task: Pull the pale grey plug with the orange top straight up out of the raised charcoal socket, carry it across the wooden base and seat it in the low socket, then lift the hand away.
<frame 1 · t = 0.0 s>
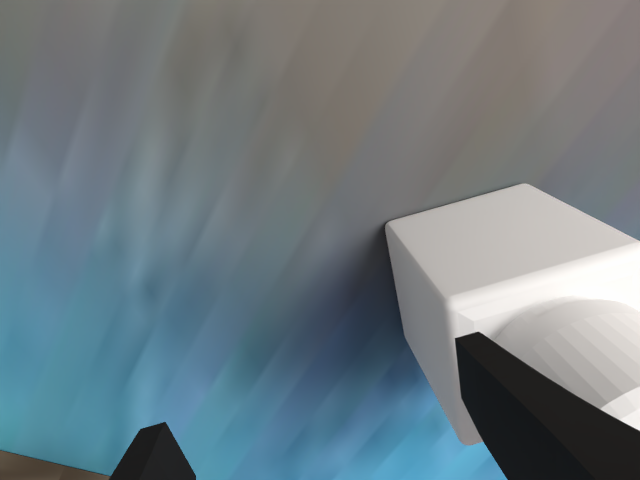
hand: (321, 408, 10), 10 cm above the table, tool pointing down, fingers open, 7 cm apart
medicine bottle: (459, 262, 22), on the table
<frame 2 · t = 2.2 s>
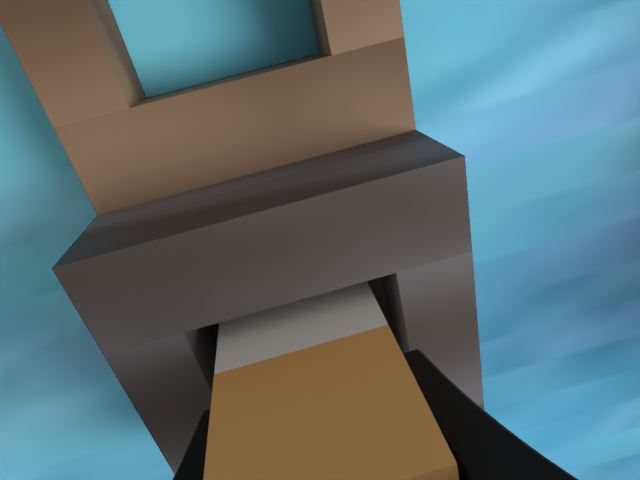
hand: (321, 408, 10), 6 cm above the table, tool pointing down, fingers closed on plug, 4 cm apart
wooden base: (257, 154, 14), on the table
plug: (306, 335, 13), point 3 cm above the table, touching gripper, wooden base
when the fingers open (4 cm above the table, at t = 6.2 s): plug stays where it is, resting in wooden base.
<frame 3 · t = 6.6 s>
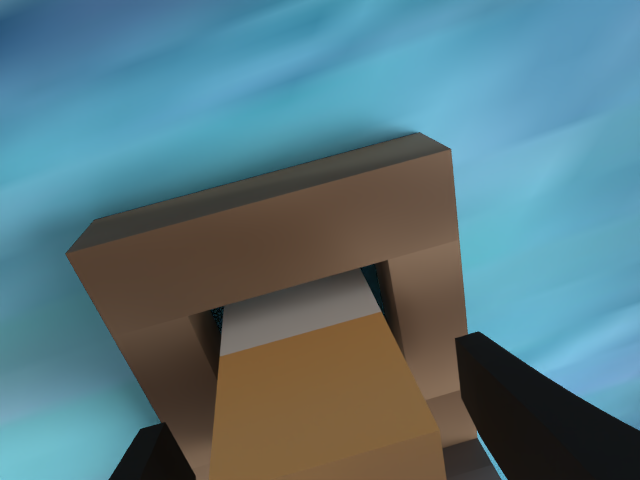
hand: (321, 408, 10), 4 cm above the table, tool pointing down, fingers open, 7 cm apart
wooden base: (336, 427, 16), on the table
plug: (305, 324, 14), resting in wooden base
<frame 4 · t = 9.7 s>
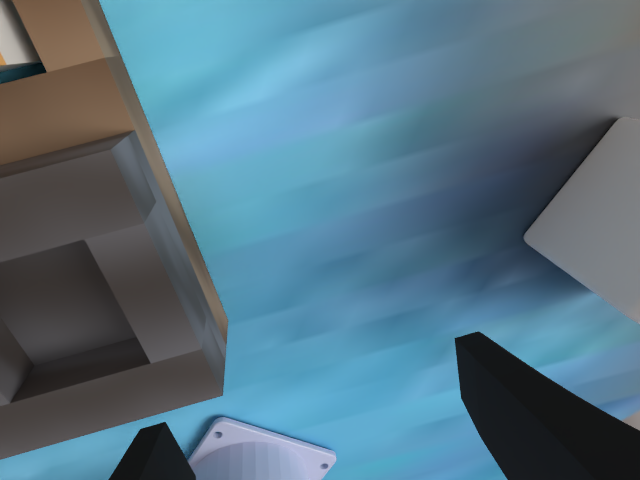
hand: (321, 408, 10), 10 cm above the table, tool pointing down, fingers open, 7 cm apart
wooden base: (33, 150, 17), on the table
medicine bottle: (607, 209, 22), on the table
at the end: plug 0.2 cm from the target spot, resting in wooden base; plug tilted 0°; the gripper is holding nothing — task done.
